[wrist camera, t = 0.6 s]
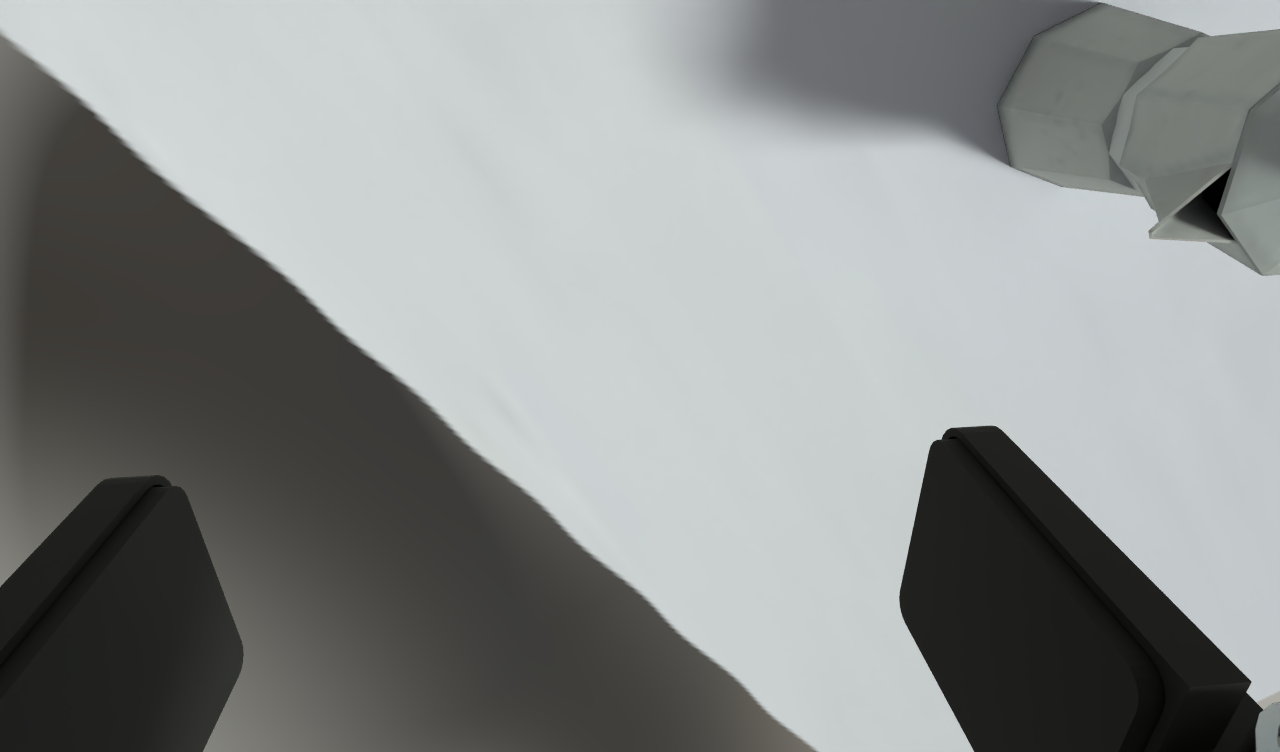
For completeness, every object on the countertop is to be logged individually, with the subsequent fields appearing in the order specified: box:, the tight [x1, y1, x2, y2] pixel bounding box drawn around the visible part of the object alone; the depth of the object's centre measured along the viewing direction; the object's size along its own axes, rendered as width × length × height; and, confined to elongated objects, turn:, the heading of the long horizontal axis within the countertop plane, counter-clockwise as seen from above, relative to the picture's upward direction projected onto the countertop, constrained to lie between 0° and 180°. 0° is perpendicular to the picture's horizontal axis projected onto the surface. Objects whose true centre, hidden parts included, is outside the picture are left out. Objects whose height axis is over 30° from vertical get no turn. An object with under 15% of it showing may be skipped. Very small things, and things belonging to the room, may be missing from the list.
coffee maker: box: [997, 3, 1280, 276], centre depth 29 cm, size 15×9×18 cm, turn 115°
